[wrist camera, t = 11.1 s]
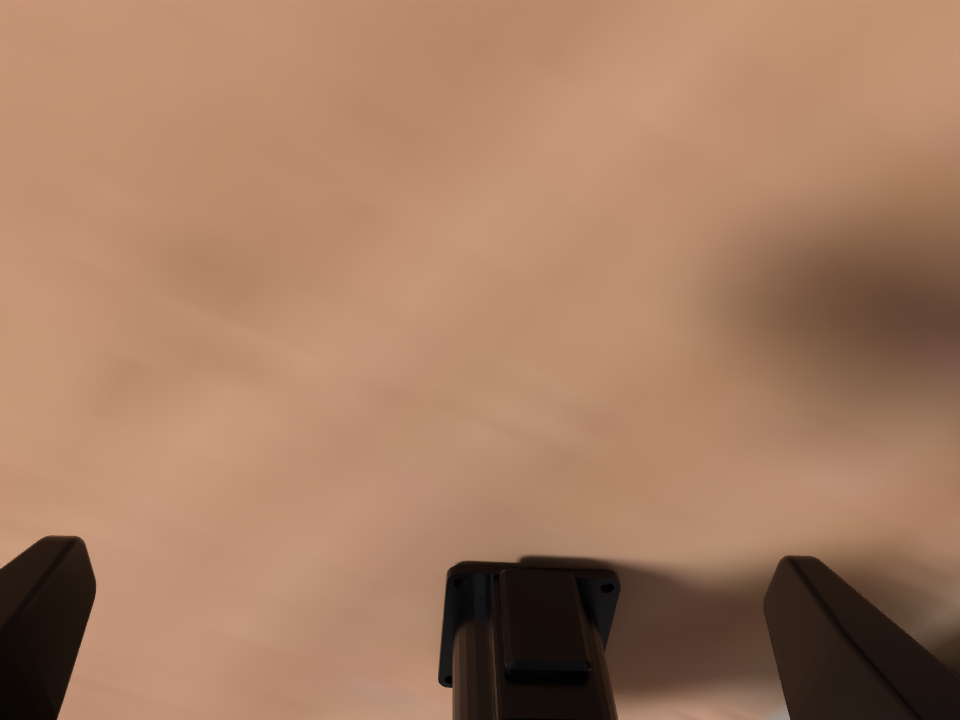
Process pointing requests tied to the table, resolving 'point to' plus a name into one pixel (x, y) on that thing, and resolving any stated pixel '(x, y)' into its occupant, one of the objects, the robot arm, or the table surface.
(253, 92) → the table surface
